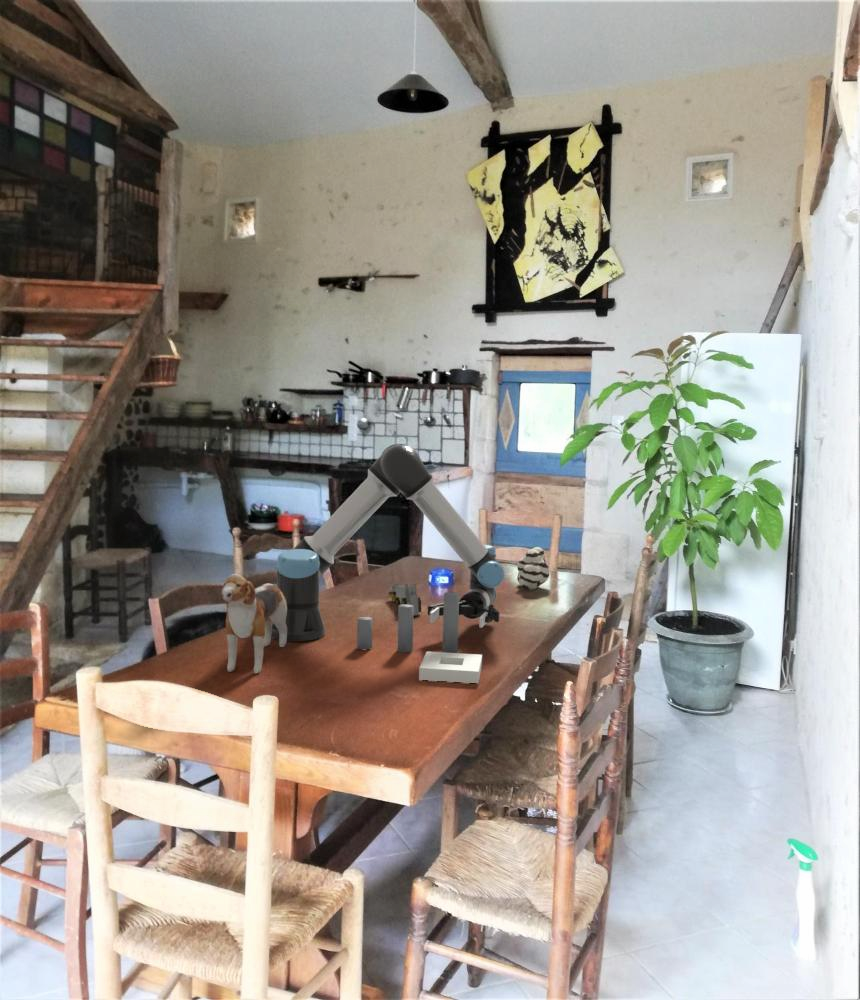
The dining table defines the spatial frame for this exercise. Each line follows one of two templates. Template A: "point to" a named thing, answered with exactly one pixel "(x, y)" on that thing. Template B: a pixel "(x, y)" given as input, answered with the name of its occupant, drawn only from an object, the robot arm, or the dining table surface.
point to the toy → (406, 596)
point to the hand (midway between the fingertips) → (455, 620)
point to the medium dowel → (405, 628)
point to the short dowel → (364, 633)
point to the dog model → (253, 616)
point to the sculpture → (533, 569)
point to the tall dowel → (450, 622)
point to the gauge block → (451, 667)
